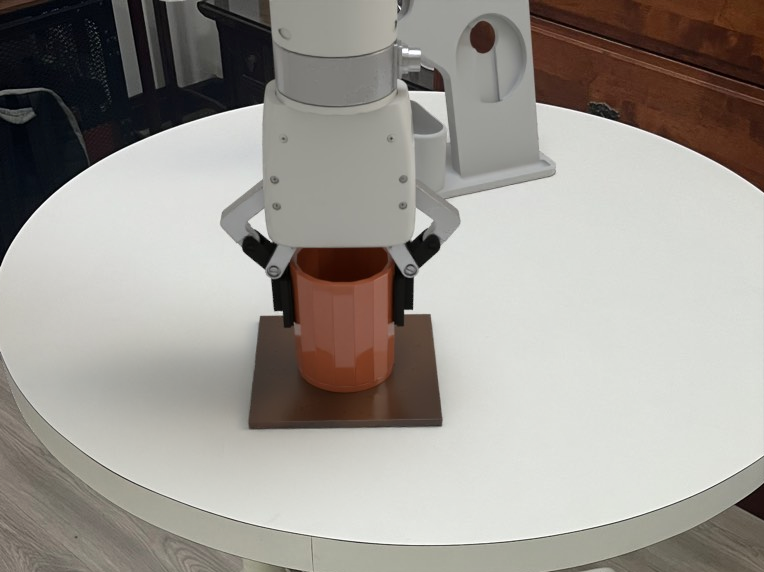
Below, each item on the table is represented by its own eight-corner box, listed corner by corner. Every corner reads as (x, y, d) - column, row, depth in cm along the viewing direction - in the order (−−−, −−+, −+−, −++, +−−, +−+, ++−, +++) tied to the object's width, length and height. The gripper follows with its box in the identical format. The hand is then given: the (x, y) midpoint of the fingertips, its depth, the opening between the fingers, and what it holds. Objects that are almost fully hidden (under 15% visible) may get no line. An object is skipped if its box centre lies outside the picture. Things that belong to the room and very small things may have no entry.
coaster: (248, 428, 72) (247, 422, 71) (260, 321, 81) (259, 315, 81) (442, 426, 72) (442, 419, 72) (430, 319, 82) (430, 313, 82)
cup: (295, 393, 74) (287, 286, 67) (299, 337, 79) (291, 232, 72) (395, 392, 74) (396, 285, 68) (392, 336, 79) (393, 232, 73)
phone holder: (408, 206, 96) (411, 3, 83) (364, 164, 102) (362, -30, 90) (560, 173, 102) (585, -21, 89) (510, 135, 108) (527, -51, 95)
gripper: (471, 46, 64) (457, 289, 76) (199, 46, 63) (229, 291, 76) (483, 91, 59) (465, 344, 71) (186, 92, 58) (221, 347, 70)
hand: (344, 315), depth 73 cm, fingers closed on cup, 7 cm apart
